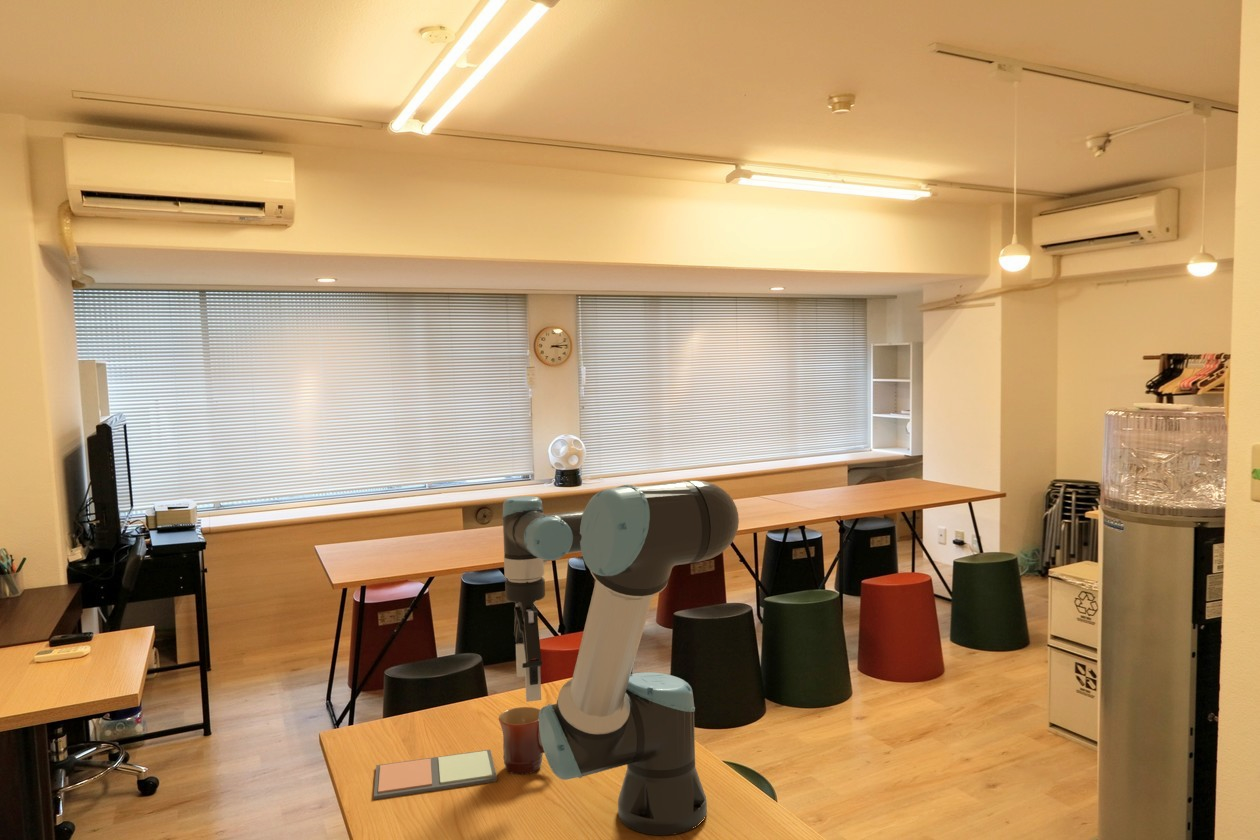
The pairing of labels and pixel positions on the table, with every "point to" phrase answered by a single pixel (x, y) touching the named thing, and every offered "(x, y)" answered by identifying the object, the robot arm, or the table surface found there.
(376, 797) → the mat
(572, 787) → the table surface
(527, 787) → the table surface
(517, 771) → the mug
